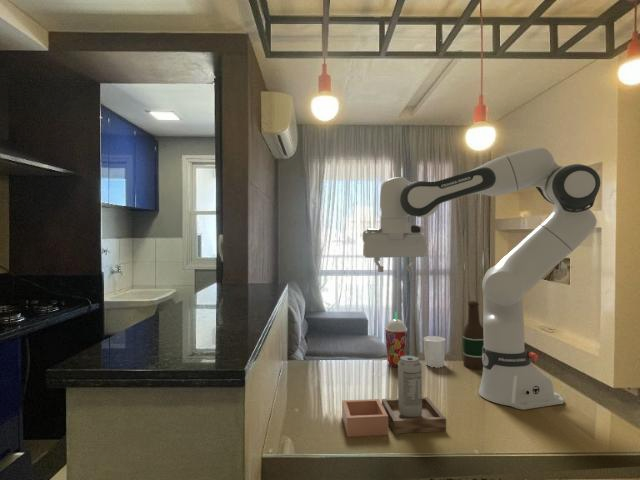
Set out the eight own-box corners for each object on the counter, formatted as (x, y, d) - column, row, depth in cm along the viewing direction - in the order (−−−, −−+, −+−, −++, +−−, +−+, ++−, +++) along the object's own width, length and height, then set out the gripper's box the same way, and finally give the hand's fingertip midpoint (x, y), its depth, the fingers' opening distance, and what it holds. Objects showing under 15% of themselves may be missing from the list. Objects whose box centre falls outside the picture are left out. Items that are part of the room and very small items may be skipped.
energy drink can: (418, 410, 102) (417, 354, 102) (425, 420, 96) (424, 361, 96) (396, 410, 102) (395, 354, 102) (401, 420, 96) (400, 361, 96)
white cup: (446, 369, 137) (446, 341, 137) (424, 368, 139) (424, 340, 139) (444, 362, 145) (444, 336, 145) (423, 361, 146) (422, 335, 146)
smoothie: (411, 363, 144) (410, 311, 144) (403, 369, 137) (402, 314, 137) (390, 360, 149) (389, 309, 149) (382, 365, 141) (381, 312, 142)
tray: (427, 407, 105) (427, 397, 105) (446, 430, 92) (445, 418, 92) (381, 409, 104) (381, 399, 104) (394, 433, 91) (393, 421, 91)
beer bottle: (458, 364, 142) (457, 301, 142) (474, 362, 145) (473, 299, 145) (474, 371, 134) (473, 304, 135) (490, 368, 138) (489, 302, 138)
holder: (379, 415, 101) (378, 399, 101) (388, 434, 91) (388, 416, 91) (342, 417, 100) (341, 400, 100) (347, 436, 90) (347, 417, 90)
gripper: (364, 228, 117) (364, 272, 117) (428, 227, 118) (429, 271, 118) (360, 229, 123) (361, 271, 123) (421, 228, 125) (422, 270, 125)
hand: (395, 271), depth 121 cm, fingers open, 8 cm apart
